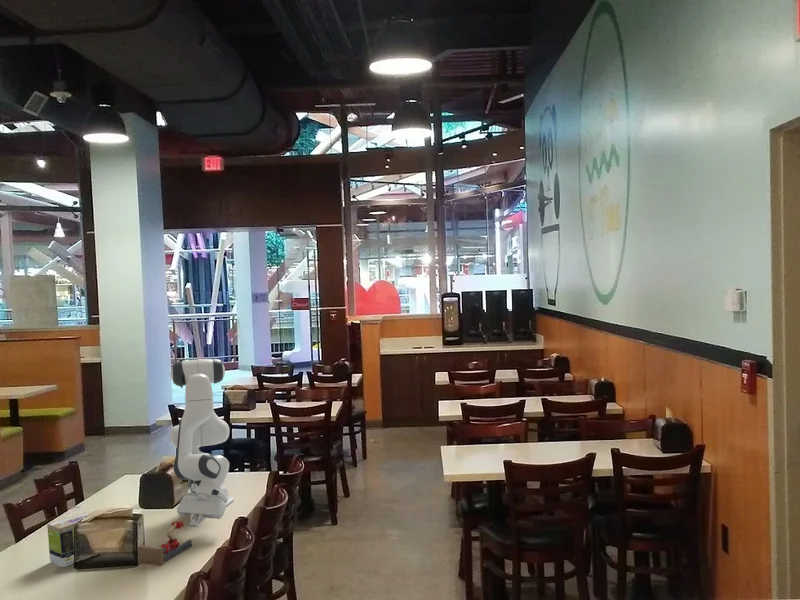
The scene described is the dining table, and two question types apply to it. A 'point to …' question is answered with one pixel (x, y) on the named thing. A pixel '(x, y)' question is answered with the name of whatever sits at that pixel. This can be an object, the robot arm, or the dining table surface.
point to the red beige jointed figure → (172, 537)
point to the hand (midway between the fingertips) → (193, 526)
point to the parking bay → (160, 553)
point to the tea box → (63, 540)
